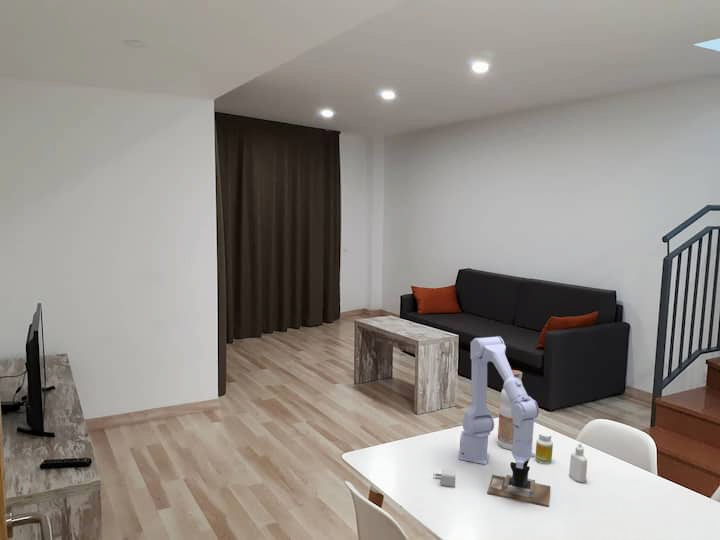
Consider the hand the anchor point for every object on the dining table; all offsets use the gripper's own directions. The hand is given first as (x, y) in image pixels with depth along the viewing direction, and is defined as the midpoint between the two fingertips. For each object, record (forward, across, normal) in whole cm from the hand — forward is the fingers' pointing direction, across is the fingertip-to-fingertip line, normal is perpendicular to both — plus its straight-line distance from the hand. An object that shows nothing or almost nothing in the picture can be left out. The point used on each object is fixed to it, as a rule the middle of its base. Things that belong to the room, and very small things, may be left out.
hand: (519, 480), depth 171 cm
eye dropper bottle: (+4, +16, -17) cm, 24 cm away
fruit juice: (+4, +33, +6) cm, 34 cm away
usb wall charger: (+4, -5, +23) cm, 23 cm away
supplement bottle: (+4, +25, -6) cm, 26 cm away
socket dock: (+3, 0, 0) cm, 3 cm away
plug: (+3, 0, 0) cm, 3 cm away
